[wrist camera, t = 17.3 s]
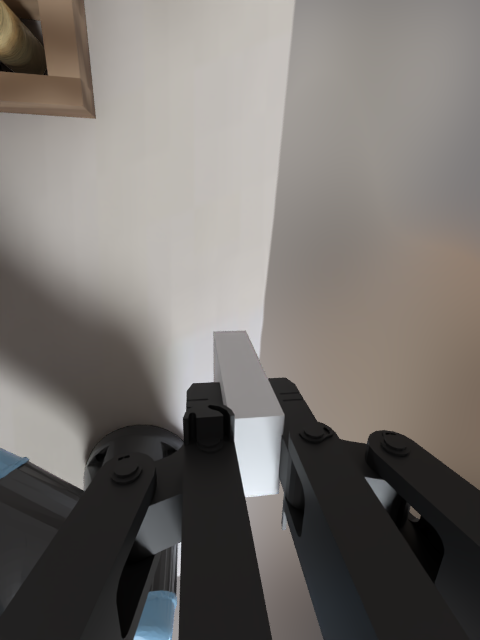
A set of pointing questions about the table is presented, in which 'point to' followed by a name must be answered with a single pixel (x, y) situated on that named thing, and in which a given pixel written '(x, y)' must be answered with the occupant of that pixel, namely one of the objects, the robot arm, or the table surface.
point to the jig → (53, 63)
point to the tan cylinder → (19, 45)
